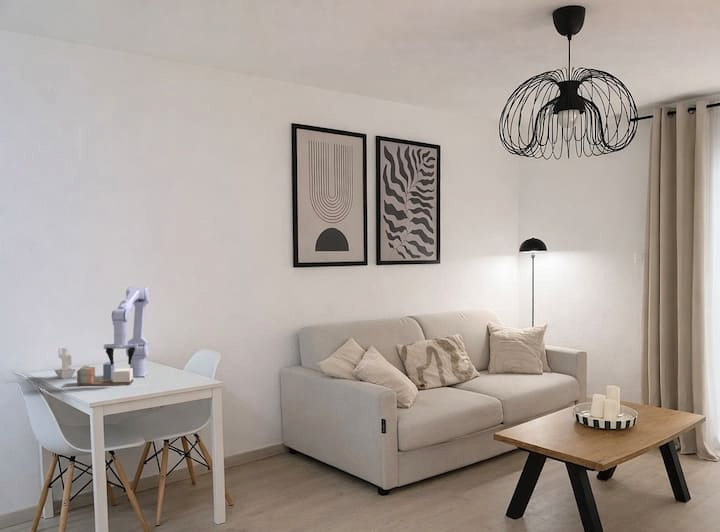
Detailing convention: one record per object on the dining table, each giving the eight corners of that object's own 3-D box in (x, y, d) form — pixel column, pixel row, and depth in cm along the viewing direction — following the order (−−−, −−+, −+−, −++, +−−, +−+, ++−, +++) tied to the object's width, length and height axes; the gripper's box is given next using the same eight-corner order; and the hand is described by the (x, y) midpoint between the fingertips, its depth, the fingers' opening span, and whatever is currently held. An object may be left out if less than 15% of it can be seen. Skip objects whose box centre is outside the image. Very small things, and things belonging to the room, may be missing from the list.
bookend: (116, 379, 293) (116, 368, 293) (132, 378, 294) (132, 368, 294) (112, 382, 286) (112, 371, 286) (129, 381, 287) (129, 371, 287)
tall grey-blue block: (106, 378, 301) (106, 362, 300) (114, 378, 301) (114, 361, 301) (103, 381, 295) (103, 364, 294) (111, 380, 295) (111, 364, 295)
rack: (82, 382, 291) (82, 365, 291) (133, 381, 295) (133, 364, 295) (77, 386, 283) (77, 368, 283) (129, 384, 287) (129, 367, 287)
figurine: (62, 379, 297) (62, 348, 296) (53, 377, 302) (52, 346, 302) (77, 377, 302) (76, 346, 302) (67, 374, 308) (67, 344, 308)
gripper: (101, 336, 279) (102, 366, 279) (135, 335, 281) (135, 365, 282) (105, 334, 286) (105, 363, 286) (138, 333, 288) (138, 362, 288)
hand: (120, 364), depth 284 cm, fingers open, 7 cm apart
